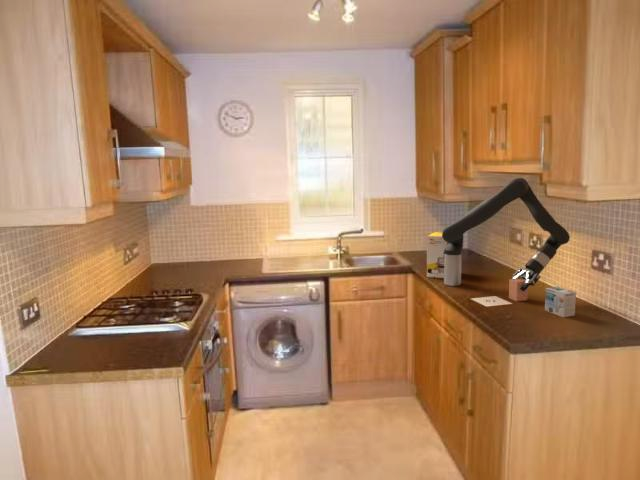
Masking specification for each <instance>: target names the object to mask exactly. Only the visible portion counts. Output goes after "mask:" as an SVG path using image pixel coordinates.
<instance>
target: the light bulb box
mask: <svg viewBox="0 0 640 480" xmlns="http://www.w3.org/2000/svg"><path fill="white" fill-rule="evenodd" d="M544 299H545V301H544V312H548V313H551V314H554V315H556V316H559V317H562V318H567V317H574V316H575V315H576V300H577V291H574V290H571V289H567V288H563V287H560V286H557V285H556V286H551V287H546V288H545V298H544Z"/></svg>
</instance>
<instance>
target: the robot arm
mask: <svg viewBox="0 0 640 480" xmlns="http://www.w3.org/2000/svg"><path fill="white" fill-rule="evenodd" d="M517 199H520V200H521V201H522V202H523V203H524V205H525V206H526V207H527V209H528V211H529V212H530V214H531V216H532V217H533V219H534V220H535V221H536V224H538V226H539V227H540V228H541V229H542V230H543V232H547V233H549V234H550V235H549V236H548V237H547V239H546V240H545V242H544V243H543V245H542V246H541V247H540V248H539V249H538V251H537V252H536V253H534V255H532V257H531V258H530V259H529V260H528V261H527V262H526V263H525V265H524V266H525V268H524V269H522V268H521V267H519V268H518V269H517V270H516V271H515V272H514V273H513V274H512V276H511V277H512V279H518V278H521V279H524V280H526V283H524V284H523V286H522V287H521V288H520V289H521V290H522V291H525V290H526V289H527V288H528V289H529V287H531V286H532V287H534V286H535V285H536V284H537V283H538V281H539V280H540V278H541V275H540V274H541V273H542V272H543V270H544V269H545V268H546V267H547V266H548V265H549V263H550V261H551V260H552V259H554V257H555V255H556V254H557V250H559V248H560V247H562V245H565V244H567V243H569V242H570V236H571V235H570V233H569V232H568V230H567V229H566V228H564V227H563V226H562V225H561V224H560V223H558V222H557V221H556V219H554V217H553V216H552V214H551V213H550V212H549V211H548V210H547V208H546V207H545V206H544V205H543V204H542V202H541V201H540V200H539V199H538V197H537V196H536V195H535V193H534V190H533V189H532V187H531V185H530V184H529V182H528V180H526V178H522V177H516V178H513V179H512V180H510V181H509V182H508V183H507V184H506V185H505V186H504V187H503V188H502V189H501V190H499V191H498V192H497V193H495V194H494V195H492V196H490V197H488V198H486V199H485V200H482V201H481V202H480V203H478V204H477V205H475V206H474V207H473V208H472V209H470V211H468V212H466V214H465V215H463V216H462V217H461V218H460V219H458V220H456V221H455V222H454V223H451V224H449V225H448V226H446V227H444V229H443V231H442V238H443V239H444V240H445V241H446V242H447V245H446V247H445V249H444V278H443V284H444V285H446V286H452V287H455V286H460V285H462V250H463V248H464V235H465V233H467V232H468V231H469V230H472V229H473V228H474V229H475V228H476V227H478V226H479V225H481V224H483V223H485V222H487V221H488V220H489V219H491V218H492V217H494V216H495V215H496V214H497V213H499V212H500V210H502V209H503V208H504V207H505V206H507V205H509V204H510V203H512V202H514V201H515V200H517Z"/></svg>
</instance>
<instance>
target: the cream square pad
mask: <svg viewBox="0 0 640 480" xmlns="http://www.w3.org/2000/svg"><path fill="white" fill-rule="evenodd" d="M470 300H472V301H474V302H476V303H478V304H480V305H482V306H485V307H495V306H503V305H513V303H512V302H510V301H508V300H505V299H503V298H501V297H499V296H496V295H493V296H482V297H474V298H473V297H472V298H470Z"/></svg>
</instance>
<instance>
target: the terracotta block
mask: <svg viewBox="0 0 640 480" xmlns="http://www.w3.org/2000/svg"><path fill="white" fill-rule="evenodd" d="M508 281H509V283H508V298H509V299H511V300H513V301H516V302H521V301H528V297H529V296H528V295H529V294H528V291H529V287H528V288H527V289H526V290H525V291H522V290H521V289H520V288H521V287H522V286H523V284H524V283H526V280H524V279H521V278H519V277H518V278H517V279H514V278H511V279H510V278H509V280H508Z"/></svg>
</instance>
